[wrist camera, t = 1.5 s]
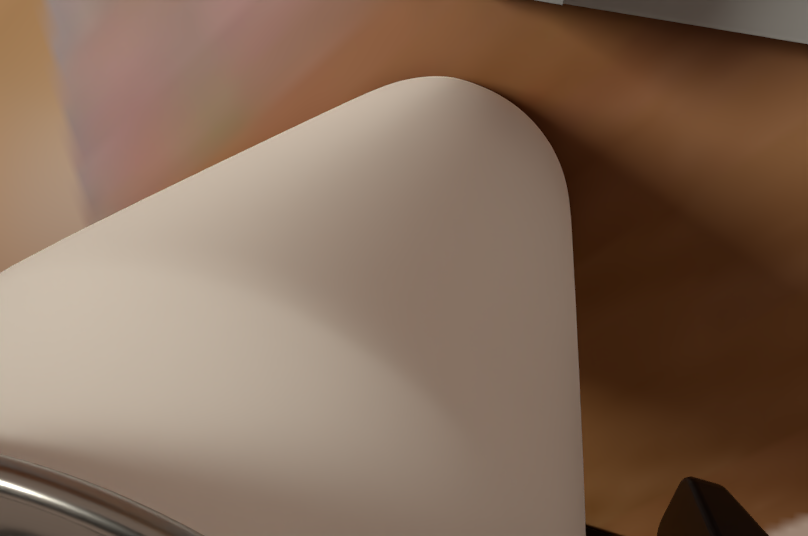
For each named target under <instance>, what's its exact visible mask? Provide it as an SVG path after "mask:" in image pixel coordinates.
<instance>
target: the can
mask: <svg viewBox="0 0 808 536" xmlns="http://www.w3.org/2000/svg"><path fill="white" fill-rule="evenodd" d="M0 536H586V528H585V500H584V473H583V449H582V426H581V404H580V381H579V360H578V340H577V319H576V299H575V280H574V262H573V244H572V227H571V214H570V203H569V195H568V189H567V185H566V181H565V177H564V174H563V171H562V168H561V165H560V163H559V160H558V158H557V156H556V154H555V152H554V150H553V148H552V146H551V145H550V143H549V141H548V140H547V138H546V137H545V136H544V134H543V133H542V131H541V130H540V129H539V128H538V126H537V125H536V124H535V123H534V122H533V121H532V120H531V119H530V118H529V117H528V116H527V115H526V114H525V113H524V112H523V111H522V110H520V109H519V108H518V107H517V106H515V105H514V104H513V103H511V102H510V101H508V100H507V99H505V98H504V97H502V96H500V95H499V94H497V93H495V92H493V91H491V90H489V89H486V88H484V87H482V86H479V85H477V84H474V83H471V82H468V81H465V80H462V79H457V78H452V77H443V76H430V77H419V78H413V79H408V80H403V81H399V82H396V83H392V84H389V85H386V86H384V87H381V88H378V89H376V90H373V91H371V92H369V93H366V94H364V95H362V96H359V97H357V98H355V99H353V100H351V101H348V102H346V103H344V104H342V105H340V106H338V107H336V108H333V109H331V110H329V111H327V112H325V113H323V114H321V115H318V116H316V117H314V118H312V119H310V120H308V121H306V122H304V123H302V124H299V125H297V126H295V127H293V128H291V129H289V130H287V131H285V132H283V133H280V134H278V135H276V136H274V137H272V138H270V139H268V140H266V141H264V142H262V143H259V144H257V145H255V146H253V147H251V148H249V149H247V150H245V151H243V152H241V153H239V154H236V155H234V156H232V157H230V158H228V159H226V160H224V161H222V162H220V163H218V164H216V165H213V166H211V167H209V168H207V169H205V170H203V171H201V172H199V173H197V174H195V175H193V176H191V177H189V178H187V179H184V180H182V181H180V182H178V183H176V184H174V185H172V186H170V187H168V188H166V189H164V190H162V191H160V192H157V193H155V194H153V195H151V196H149V197H147V198H145V199H143V200H141V201H139V202H137V203H135V204H133V205H131V206H129V207H127V208H125V209H123V210H121V211H119V212H117V213H115V214H113V215H111V216H109V217H106V218H104V219H102V220H100V221H98V222H96V223H94V224H92V225H90V226H88V227H86V228H84V229H82V230H80V231H78V232H76V233H74V234H72V235H70V236H68V237H66V238H64V239H62V240H60V241H58V242H56V243H55V244H53V245H51V246H49V247H47V248H45V249H43V250H41V251H39V252H38V253H36V254H34V255H32V256H30V257H28V258H26V259H24V260H22V261H20V262H19V263H17V264H15V265H13V266H11V267H9V268H8V269H6V270H4V271H3V272H1V273H0Z"/></svg>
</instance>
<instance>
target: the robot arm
mask: <svg viewBox="0 0 808 536" xmlns="http://www.w3.org/2000/svg"><path fill="white" fill-rule="evenodd" d="M585 528H586V527H585ZM586 536H613V535H610V534H606V533H603V532H600V531H596V530H593V529H590V528H586ZM657 536H769V535H768V534H767V533H766V532H765V531H764V530H763V529H762V528H761V527H760V526H759V524H758V523H757V522H756V521H755V520H754V519H753V518H752V517H751V516H750V515H749V513H748V512H747V511H746V510H745V509H744V508H743V507H742V506H741V505H740V504H739V502H738V501H737V500H736V499H735V498H734V497H733V496H732V495H731V494H730V493H729V491H727V490H726V489H725V488H724V487H723V486H721V485H719V484H716V483H712V482H709V481H705V480H702V479H698V478H695V477H687V478H684V479H683V480H682V481H681V482H680V484H679V486H678V488H677V490H676V492H675V494H674V496H673V498H672V500H671V502H670V504H669V506H668V508H667V510H666V512H665V514H664V516H663V518H662V520H661V522H660V525H659V528H658V533H657Z"/></svg>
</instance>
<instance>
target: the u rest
mask: <svg viewBox="0 0 808 536" xmlns="http://www.w3.org/2000/svg"><path fill="white" fill-rule="evenodd" d="M536 1H542V2H548V3H554V4H560V5H562V4H569V5H575V6H582V7H588V8H594V9H600V10H606V11H612V12H618V13H624V14H630V15H636V16H642V17H648V18H654V19H660V20H666V21H672V22H678V23H684V24H690V25H696V26H702V27H708V28H714V29H720V30H726V31H732V32H738V33H744V34H750V35H756V36H762V37H768V38H774V39H780V40H786V41H792V42H798V43H804V44H808V0H536Z"/></svg>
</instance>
